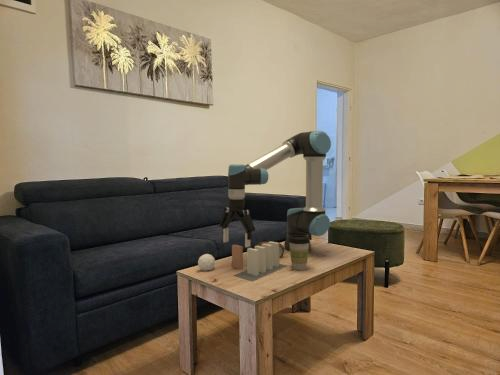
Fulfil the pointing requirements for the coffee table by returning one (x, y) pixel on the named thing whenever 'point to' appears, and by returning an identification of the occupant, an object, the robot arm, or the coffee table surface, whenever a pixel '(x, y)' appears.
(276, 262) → the domino
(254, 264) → the domino
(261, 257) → the domino
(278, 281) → the coffee table surface
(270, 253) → the domino
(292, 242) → the coffee cup
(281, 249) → the tin
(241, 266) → the domino
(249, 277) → the mat
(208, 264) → the geometric ball
